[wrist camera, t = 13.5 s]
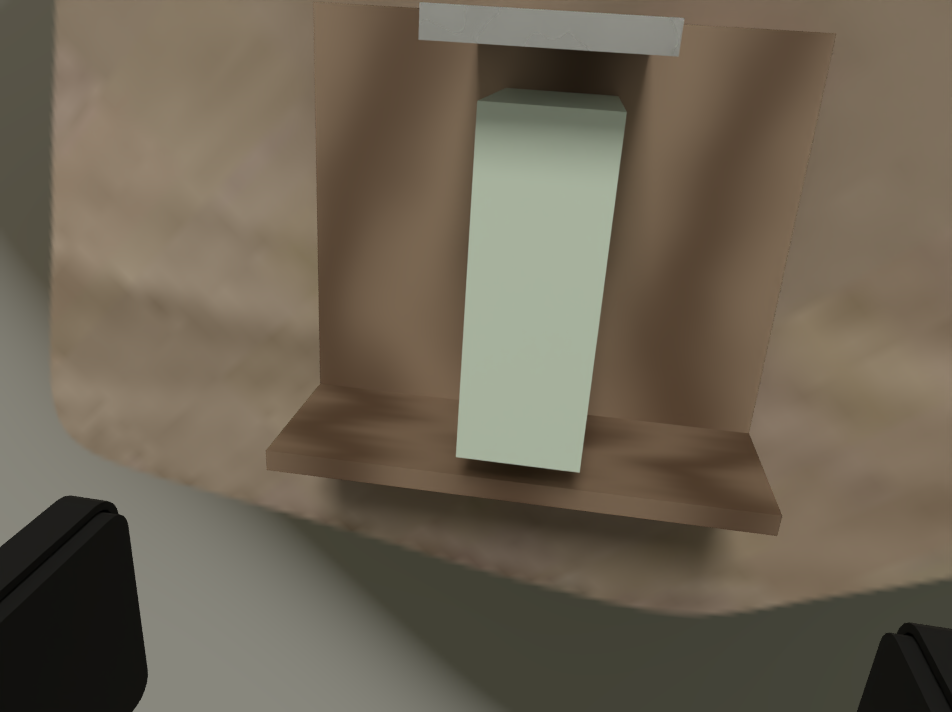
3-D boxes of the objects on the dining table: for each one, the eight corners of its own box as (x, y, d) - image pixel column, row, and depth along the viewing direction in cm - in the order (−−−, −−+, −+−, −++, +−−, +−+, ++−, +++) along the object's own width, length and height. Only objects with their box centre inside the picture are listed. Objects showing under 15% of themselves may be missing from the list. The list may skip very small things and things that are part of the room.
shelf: (824, 34, 27) (972, 25, 16) (737, 438, 33) (805, 621, 22) (326, 4, 29) (172, -22, 18) (331, 390, 35) (217, 538, 24)
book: (618, 96, 27) (626, 112, 20) (582, 379, 31) (579, 472, 24) (506, 87, 28) (477, 101, 21) (485, 368, 32) (455, 457, 25)
